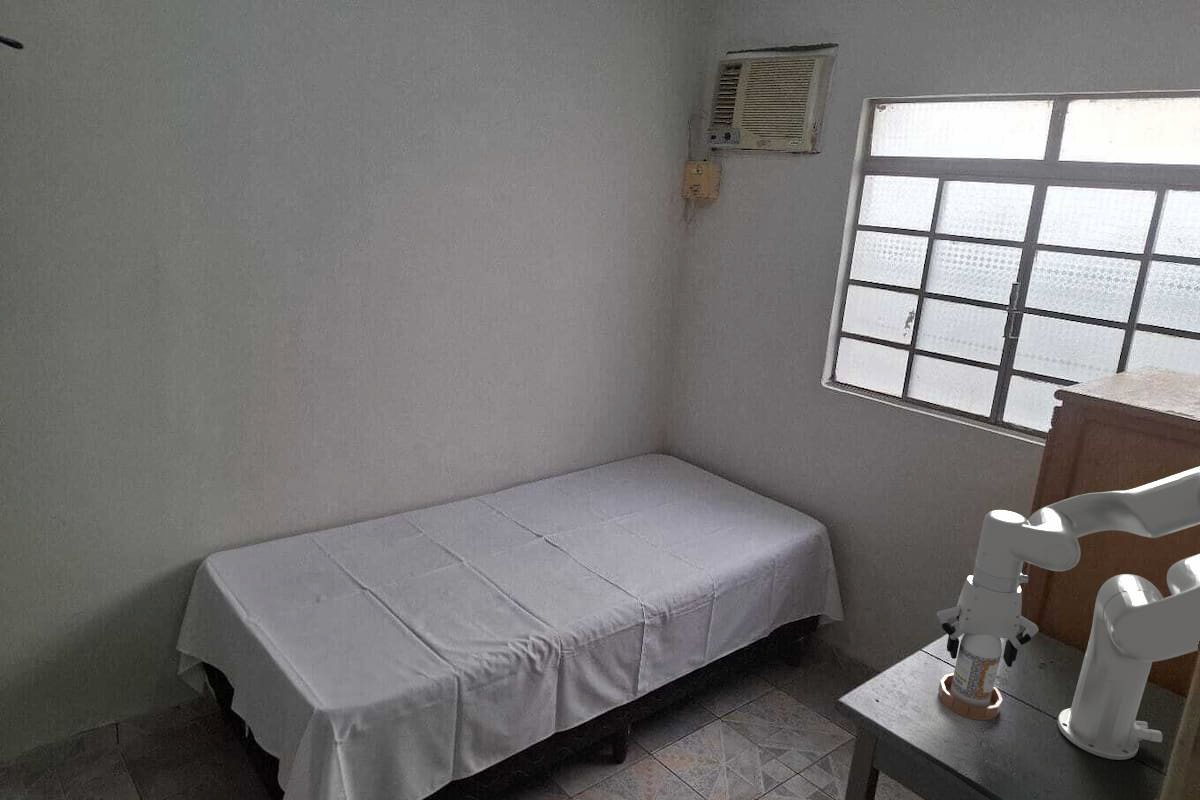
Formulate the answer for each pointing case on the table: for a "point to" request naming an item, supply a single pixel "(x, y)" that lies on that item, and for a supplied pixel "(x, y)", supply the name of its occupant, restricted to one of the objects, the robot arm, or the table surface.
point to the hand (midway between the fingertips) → (979, 658)
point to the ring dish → (965, 708)
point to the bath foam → (976, 669)
